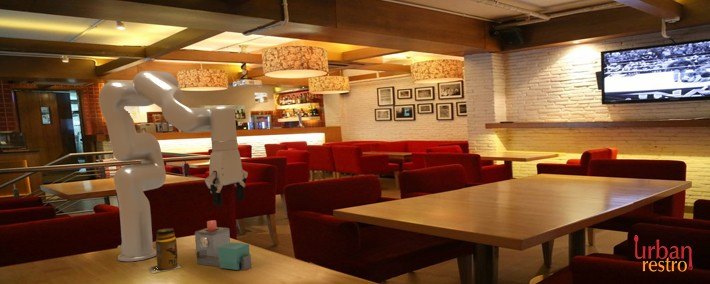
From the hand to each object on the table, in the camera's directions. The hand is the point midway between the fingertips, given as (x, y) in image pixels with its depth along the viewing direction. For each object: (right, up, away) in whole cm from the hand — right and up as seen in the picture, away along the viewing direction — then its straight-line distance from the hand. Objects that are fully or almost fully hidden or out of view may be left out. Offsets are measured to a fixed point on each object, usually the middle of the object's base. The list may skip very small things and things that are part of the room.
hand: (229, 203), depth 147 cm
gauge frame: (-10, -20, +18) cm, 29 cm away
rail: (-3, -20, +3) cm, 20 cm away
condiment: (-21, -21, +4) cm, 30 cm away
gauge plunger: (-11, -14, +18) cm, 25 cm away
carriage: (+1, -20, +1) cm, 20 cm away
